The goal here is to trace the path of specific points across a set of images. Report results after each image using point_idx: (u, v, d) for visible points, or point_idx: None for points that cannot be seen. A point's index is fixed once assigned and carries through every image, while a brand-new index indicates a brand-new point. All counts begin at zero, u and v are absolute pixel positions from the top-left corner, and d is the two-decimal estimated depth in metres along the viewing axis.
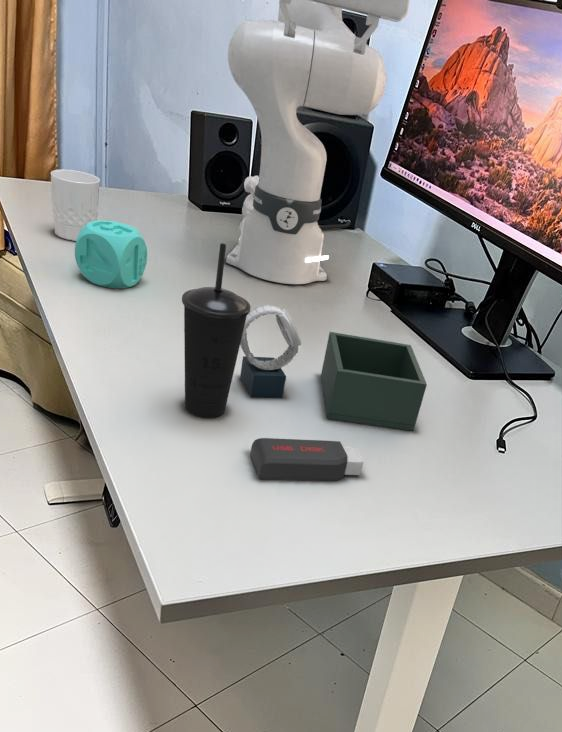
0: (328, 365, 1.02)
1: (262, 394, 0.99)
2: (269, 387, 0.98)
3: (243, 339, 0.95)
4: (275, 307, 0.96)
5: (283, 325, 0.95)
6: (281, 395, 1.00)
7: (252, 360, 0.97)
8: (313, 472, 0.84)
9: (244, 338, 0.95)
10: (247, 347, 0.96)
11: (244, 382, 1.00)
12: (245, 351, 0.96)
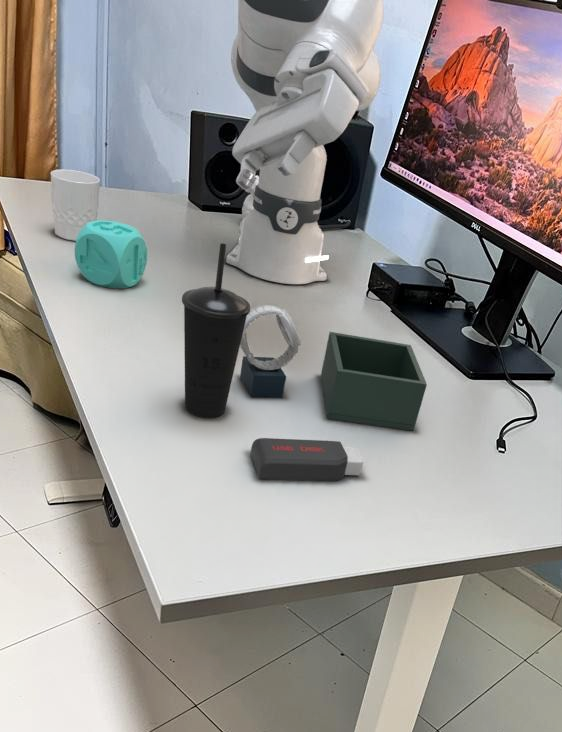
0: (328, 365, 1.02)
1: (262, 394, 0.99)
2: (269, 387, 0.98)
3: (243, 339, 0.95)
4: (275, 307, 0.96)
5: (283, 325, 0.95)
6: (281, 395, 1.00)
7: (252, 360, 0.97)
8: (313, 472, 0.84)
9: (244, 338, 0.95)
10: (247, 347, 0.96)
11: (244, 382, 1.00)
12: (245, 351, 0.96)
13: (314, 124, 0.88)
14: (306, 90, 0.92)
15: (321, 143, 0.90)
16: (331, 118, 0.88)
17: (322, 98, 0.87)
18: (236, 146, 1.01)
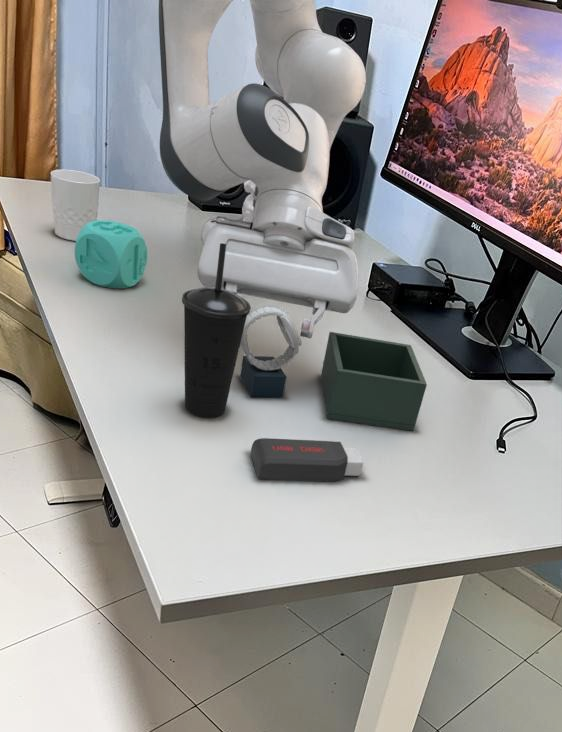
0: (328, 365, 1.02)
1: (262, 394, 0.99)
2: (270, 388, 0.98)
3: (244, 340, 0.95)
4: (276, 308, 0.95)
5: (284, 326, 0.95)
6: (281, 395, 1.00)
7: (252, 361, 0.97)
8: (313, 472, 0.84)
9: (245, 339, 0.95)
10: (248, 348, 0.96)
11: (244, 382, 1.00)
12: (246, 352, 0.96)
13: (346, 304, 0.97)
14: (315, 251, 0.97)
15: (330, 310, 0.99)
16: None
17: (353, 282, 0.97)
18: (210, 269, 0.94)
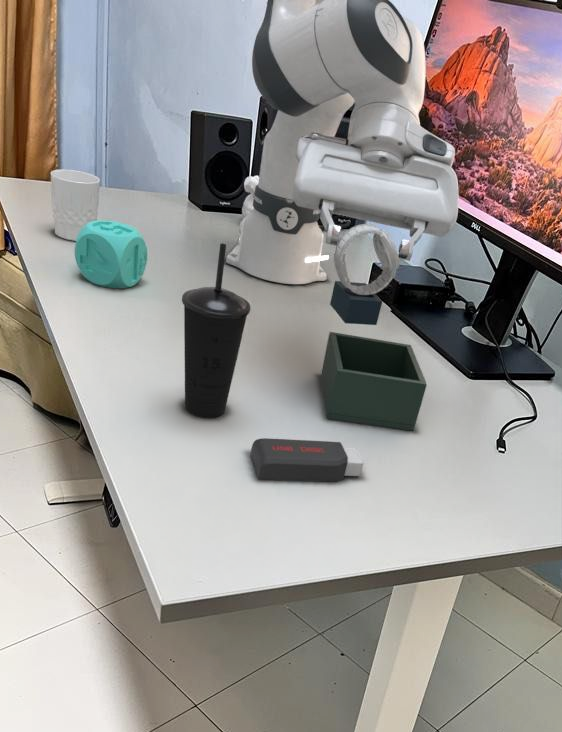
0: (328, 365, 1.02)
1: (357, 320, 0.94)
2: (365, 313, 0.94)
3: (341, 260, 0.90)
4: (374, 227, 0.91)
5: (383, 246, 0.91)
6: (375, 322, 0.95)
7: (348, 283, 0.93)
8: (313, 473, 0.84)
9: (342, 259, 0.91)
10: (344, 269, 0.91)
11: (336, 308, 0.96)
12: (342, 273, 0.91)
13: (446, 224, 0.93)
14: (414, 169, 0.92)
15: (428, 233, 0.95)
16: None
17: (454, 201, 0.92)
18: (307, 185, 0.90)
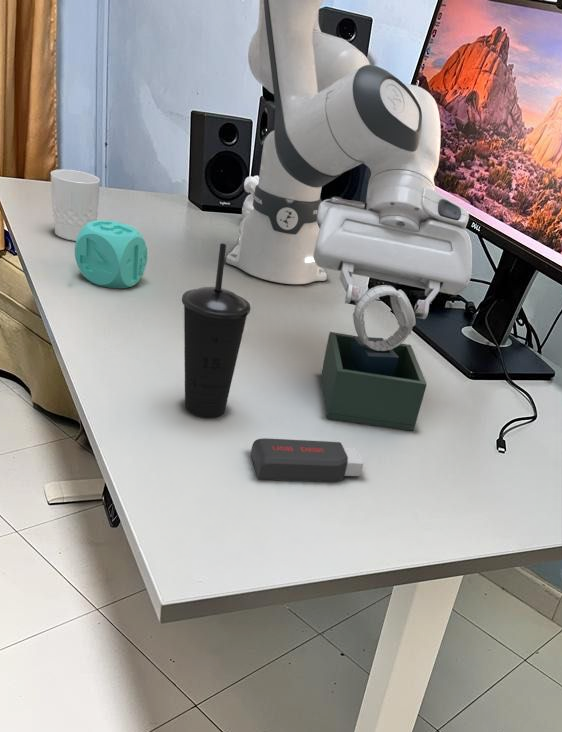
0: (328, 365, 1.02)
1: None
2: (382, 368, 0.98)
3: (360, 320, 0.95)
4: (392, 288, 0.95)
5: (400, 306, 0.95)
6: (392, 376, 1.00)
7: (366, 341, 0.97)
8: (313, 473, 0.84)
9: (361, 319, 0.95)
10: (363, 328, 0.96)
11: (354, 362, 1.00)
12: (361, 332, 0.96)
13: (460, 285, 0.97)
14: (430, 232, 0.97)
15: (442, 291, 0.99)
16: None
17: (468, 263, 0.97)
18: (328, 248, 0.94)
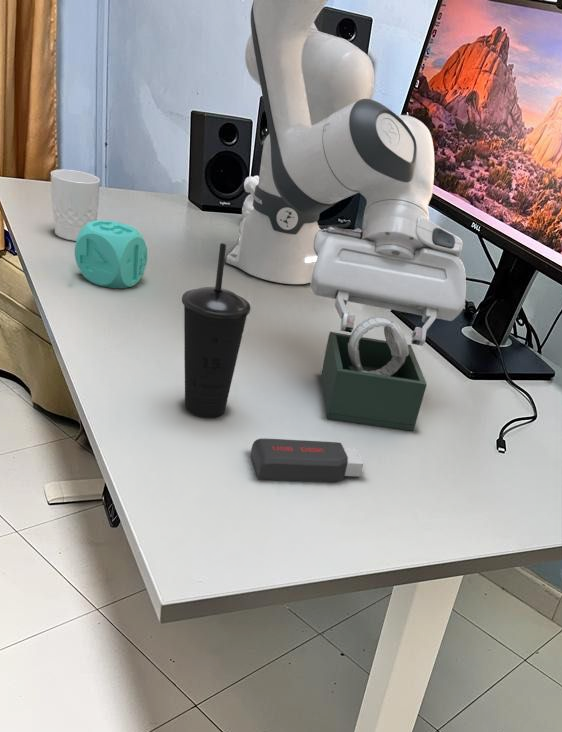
0: (328, 365, 1.02)
1: None
2: None
3: (355, 350, 0.97)
4: (386, 319, 0.98)
5: (394, 337, 0.98)
6: None
7: (361, 370, 0.99)
8: (313, 473, 0.84)
9: (356, 349, 0.98)
10: (358, 357, 0.98)
11: None
12: (355, 361, 0.98)
13: (454, 312, 0.99)
14: (424, 260, 0.99)
15: (437, 318, 1.01)
16: None
17: (462, 290, 0.99)
18: (324, 278, 0.96)
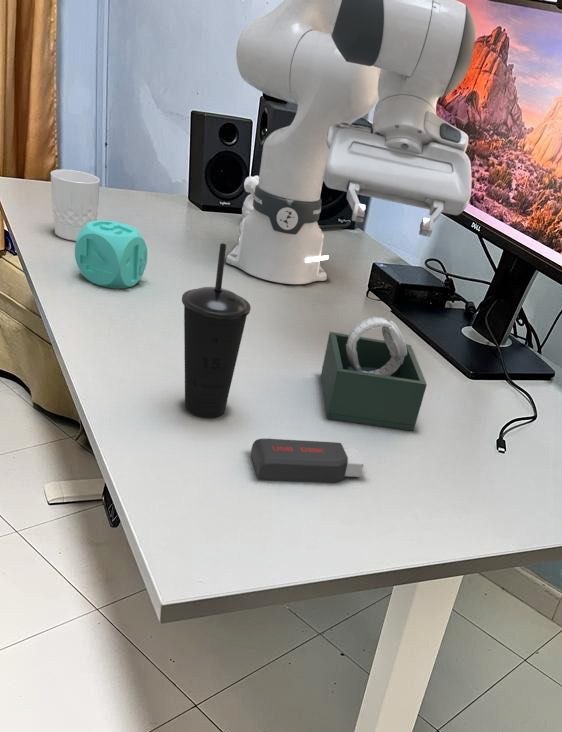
0: (328, 365, 1.02)
1: None
2: None
3: (353, 351, 0.97)
4: (383, 319, 0.98)
5: (392, 337, 0.98)
6: None
7: (360, 371, 0.99)
8: (313, 473, 0.84)
9: (354, 350, 0.98)
10: (356, 358, 0.98)
11: None
12: (354, 362, 0.98)
13: (460, 204, 1.04)
14: (432, 154, 1.04)
15: (444, 212, 1.06)
16: None
17: (468, 183, 1.04)
18: (337, 168, 1.01)
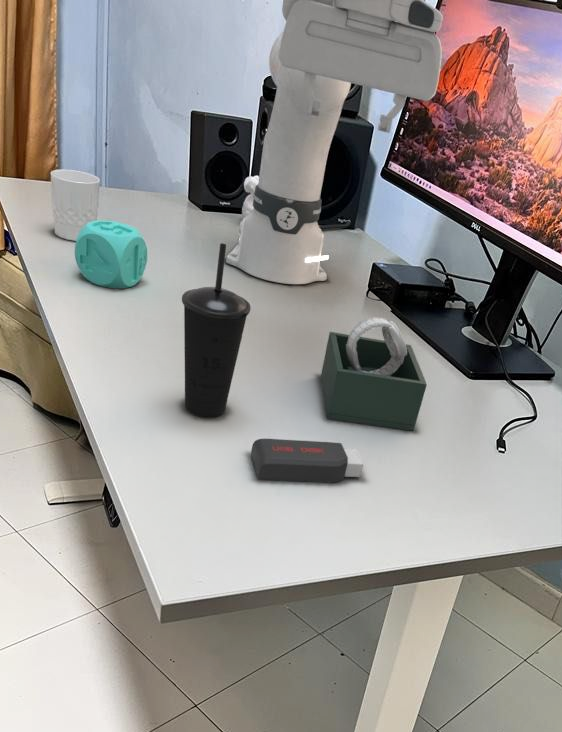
0: (328, 365, 1.02)
1: None
2: None
3: (353, 351, 0.97)
4: (383, 319, 0.98)
5: (392, 337, 0.98)
6: None
7: (360, 371, 0.99)
8: (313, 473, 0.84)
9: (354, 350, 0.98)
10: (356, 358, 0.98)
11: None
12: (354, 362, 0.98)
13: (424, 100, 0.97)
14: (398, 38, 0.93)
15: None
16: None
17: (434, 78, 0.95)
18: (290, 60, 0.94)
